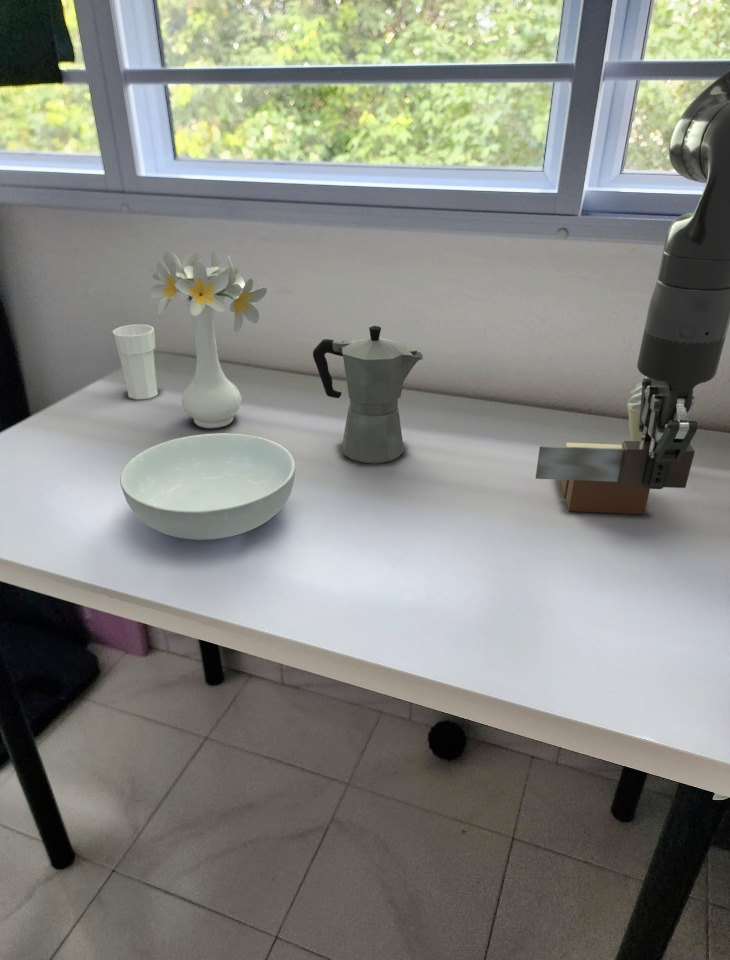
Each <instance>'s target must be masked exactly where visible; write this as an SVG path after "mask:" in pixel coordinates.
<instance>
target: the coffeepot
mask: <svg viewBox="0 0 730 960" xmlns="http://www.w3.org/2000/svg"><path fill="white" fill-rule="evenodd" d="M368 330H369V336H370V337H369V338H357V339H355V340H352V341H347V340H341V339H335V340H334V339H330V338H324V339H322V340H321V341H320V342H319V343H318V344H317V345H316V346H315V348H314V349H313V350H312V358H313V360H314V364H315V366H316V369H317V371H318V375H319V377H320V381H321V383H322V386H323V389H324V392H325V394H326V396H327V397H329V398H334V399H340V398H341V396H342V391H337V390H336V389H334V387H333V377H332V375H331V374H330V371H329V364H328V360H327V358H326V354H332V355H334V356H339V357H342V359H343V365H344V371H345V372H344V373H345V379H346V388H347V393H348V398H349V406H348V409H347V414H346V420H345V424H344V425H345V426H344V431H343V436H342V437H343V438H342V444H341V445H342V452H343V455H344V456H345V457H347V458H348V459H350V460H351V461H354V462H357V463H362V464H383V463H384V464H385V463H388V462H392V461H394V460H397V459H398V458H399V457H401V455H402V454H404V453H405V449H404V441H403V433H402V425H401V419H400V411H399V407H398V406H399V405H398V403H399V399H400V398H401V397H402V392H403V386H404V382H405V380H406V378H407V377H408V375H409V374H410V372H411V371H412V370H413V368H414V366H415V365H416V364H417V363H418V362H420V361H421V360H423V359H424V355H423V353H422V352H420V351H418V350H417V349H413V348H409V347H408V346H407V344H406V343H405V342H402V341H398V340H393V339H390V338H385V337H380V336H381V331H382V327H381V326H378V325H372V326H369V327H368Z"/></svg>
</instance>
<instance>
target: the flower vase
mask: <svg viewBox="0 0 730 960" xmlns="http://www.w3.org/2000/svg"><path fill="white" fill-rule="evenodd" d="M199 258H200V254H199V253H198V252H195V251H194V252H191V253H189V254H187V256H186V257H184V259H183V261H182V263H181V261H180V259H179V257H178V255H176V254H175V253H173V252H172V251H169V250H166V251H165V252H164V253H163V262H164V263H163V262H161V261H158V262H157V263H156V272H154V273H153V274H152V278H153V279H154V280H155V281H159V282H162V283H157V284H154V285H152V287H151V288H150V289H149V291H148V297H149V298H150V299H153V300H156V299H160V301H159V303H158V306H157V314H158V315H162V314H163V313H164V311H166V308H167V307H168V305H169V303H171V301H172V300H175V299H176V298H177V295H178V293H181V294H184V295H186V296H188V297H187V298H186V299H185V304H186V306H187V307H188V310H189V312H190V317H191V319H192V324H193V330H194V339H195V354H196V355H195V358H196V365H195V371H194V375H193V378H192V381H191V382H190V383H189V384H188V385H187V386H186V388H185V390H184V392H183V394H182V397H181V408H182V410H183V411H184V412H185V413H186V414H187V416H189V417H190V418H192V419H193V422H194V424H195V425H196V426H198V427H200V428H203V429H204V428H205V429H219V428H223V427H226V426H228V425H230V424H231V423H233V421H234V418H235V417H234V416H235V414H237V413H238V411H239V410H240V408H241V406H242V404H243V398H242V394H241V392H240V390H239V388H238V387H237V386H236V385H235V384H234V383H233V382H232V381H231V380H230V379H228V377H227V375H225V373H224V371H223V368H222V366H221V363H220V359H219V355H218V354H219V353H218V347H217V339H216V332H215V331H216V330H215V312H218V313H226V311H227V304H226V303H225V301H224V300H225V299H226V298H229V299H230V300H232V301H231V302H230V303H229V310H230V312H232V313H233V314H234V319H233V330H234V332H235V333H238V332H239V331H240V330H241V328H242V326H243V324H244V317H245V318H246V320H247V321H248V322H250V323H252V324H258V322H259V320H260V314H259V310H258V309H257V307H256V306H255V304H256V303H257V302H260V301H261V300H262V299H263V298H264V297H265V296H266V295H267V293H268V289H267V287H265V286H264V287H259V288H257V289H254V290H253V287H254V280H253V278H248V279H247V280H246V282H245V280H244V279H243V277H242V275H240V274H239V273H240V268H239V267H238V266H237V265H236V264H233V262H232V259H231V257H230V255H229V254H228V255H227V265H226V266H224V267H223V268H222V262H221V258H220V255H219V254H218V253H217V252H216V251H215V250H213V251H211V254H210V264H211V266H210V267H205V265H204V263H203V262H202V261H199ZM164 264H165V265H164Z"/></svg>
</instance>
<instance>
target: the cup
mask: <svg viewBox="0 0 730 960" xmlns="http://www.w3.org/2000/svg"><path fill="white" fill-rule="evenodd" d="M111 333H112V336H113V340H114V341H113V342H114V345H115V350H116V352H117V353H118V356H119V361H120V365H121V370H122V374H123V378H124V382H125V386H126V391H127V396H128V398H129V399H134V400H146V399H147V400H148V399H151V398H153V397H156V396H158V394H159V388H158V382H157V381H158V379H157V368H156V357H155V348H156V347H157V345H156V336H155V327H153V326H151V325H150V324H143V323H141V324H140V323H139V324H138V323H136V324H135V323H134V324H127V325H122V326H119V327H117V328H114V329H113V330H112V331H111Z"/></svg>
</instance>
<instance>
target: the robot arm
mask: <svg viewBox="0 0 730 960" xmlns="http://www.w3.org/2000/svg"><path fill="white" fill-rule="evenodd" d="M668 156H669V161H670V164H671V166H672V168H673V169H674V171H675V172H676V173H677V174H678V175H680V176H681V177H683V178H685V179H687V180H689V181H693V182H697V183H702V184H705V186H704V189H703V190H702V193H701V196H700V199H699V201H698V203H697V205H696V207H695V209H694V211H692V212H687V213H684V214H682V215H680V216H678V217H676V218H675V219H674V220H673V221H672V222H671V223H670V226H669V228H668V230H667V233H666V236H665V239H664V244H663V250H662V255H661V259H660V264H659V268H658V269H659V270H658V273H657V279H656V282H655V286H654V289H653V292H652V294H651V297H650V302H649V306H648V310H647V315H646V320H645V324H644V329H643V334H642V339H641V344H640V349H639V354H638V358H637V363H636V367H637V370H638V372H639V373H640V374H641V375H642V376H643V375H644V376H646V377H648V378H644V379H643V378H642V381H641V382H642V395H641V408H640V421H639V431H640V432H643V433H642V436H641V441H644V442H651V443H650V449H649V452H648V455H649V456H648V460H647V465H646V469H645V474H644V478H643V485H644V487H645V488H646V489H650V490H662V489H664V488H665V487H664V486H665V483H666V479H667V475H668V471H669V467H670V463H671V461H680V460H681V458H682V456H683V455H684V453H685V451H686V449H687V447H688V446H689V444H690V445H691V442H692V440H693V438H694V437H695V435H696V432H697V430H698V427H699V426H698V421H697V420H689V417H690V414H692V413H693V411H694V406H695V396H694V388H695V387H697V386H698V385H700V384H703V383H707V382H709V381H711V380H712V379H713V378H714V377H715V376H716V374H717V372H718V368H719V365H720V360H721V357H722V353H723V349H724V346H725V341H726V338H727V335H728V330H729V326H730V69H728V71H726V72H725V73H724V74H722V75H720V76H719V78H717V79H716V80H715V81H713V82H712V83H711V84H710V85H708V86H707V87H706V88H705V89H704V90H702V91H701V93H700V94H699V95H697V96H696V97H695V98H694V100H693V101H692V102H691V103H690V104H689V105H688V106H687V107H686V109H685V110H684V112H683V113H682V114H681V116H680V118H679V119H678V120H677V123H676V124H675V126H674V129H673V131H672V133H671V136H670V140H669V146H668Z"/></svg>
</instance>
